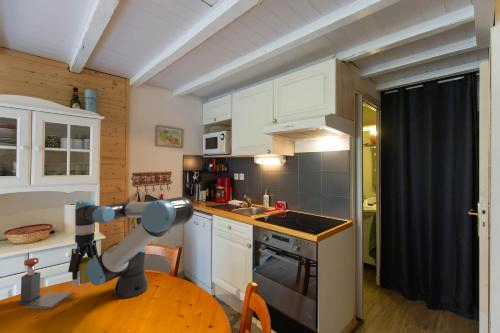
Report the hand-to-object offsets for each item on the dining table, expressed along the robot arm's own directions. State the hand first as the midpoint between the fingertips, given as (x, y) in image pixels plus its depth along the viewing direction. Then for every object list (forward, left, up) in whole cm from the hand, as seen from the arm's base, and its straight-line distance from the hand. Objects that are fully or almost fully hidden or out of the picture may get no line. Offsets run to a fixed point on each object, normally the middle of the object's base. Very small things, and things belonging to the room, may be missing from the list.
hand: (84, 280), depth 113 cm
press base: (+15, +5, -8) cm, 17 cm away
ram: (+21, +5, -2) cm, 21 cm away
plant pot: (0, 0, -1) cm, 1 cm away
